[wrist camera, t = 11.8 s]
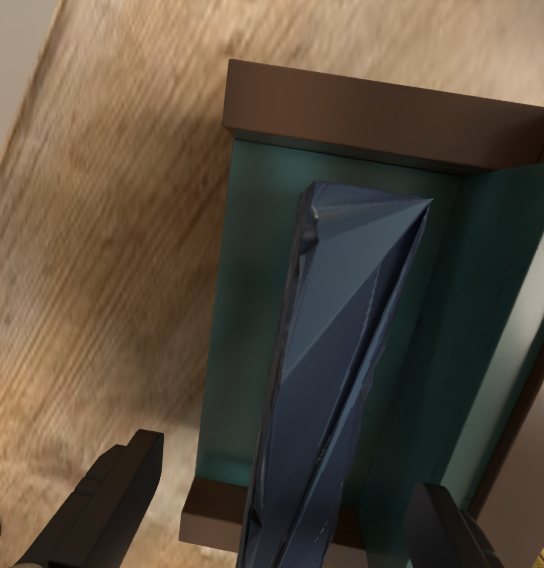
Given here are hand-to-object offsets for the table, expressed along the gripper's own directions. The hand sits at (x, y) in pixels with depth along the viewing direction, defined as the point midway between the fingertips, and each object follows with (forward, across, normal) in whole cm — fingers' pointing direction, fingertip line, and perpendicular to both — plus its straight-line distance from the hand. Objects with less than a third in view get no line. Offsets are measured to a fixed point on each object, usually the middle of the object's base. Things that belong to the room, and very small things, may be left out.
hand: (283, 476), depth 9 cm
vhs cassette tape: (+9, 0, 0) cm, 9 cm away
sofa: (+15, -3, 0) cm, 15 cm away
